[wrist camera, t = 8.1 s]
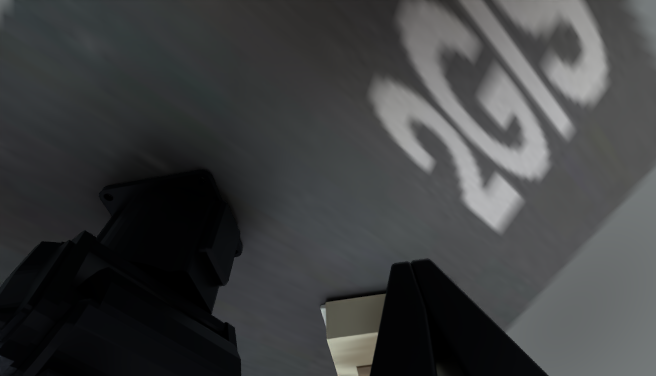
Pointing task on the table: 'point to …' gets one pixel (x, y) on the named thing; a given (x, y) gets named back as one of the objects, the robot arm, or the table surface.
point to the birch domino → (353, 333)
